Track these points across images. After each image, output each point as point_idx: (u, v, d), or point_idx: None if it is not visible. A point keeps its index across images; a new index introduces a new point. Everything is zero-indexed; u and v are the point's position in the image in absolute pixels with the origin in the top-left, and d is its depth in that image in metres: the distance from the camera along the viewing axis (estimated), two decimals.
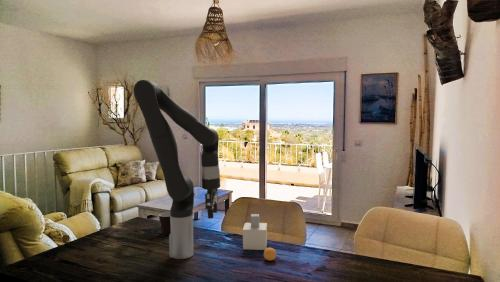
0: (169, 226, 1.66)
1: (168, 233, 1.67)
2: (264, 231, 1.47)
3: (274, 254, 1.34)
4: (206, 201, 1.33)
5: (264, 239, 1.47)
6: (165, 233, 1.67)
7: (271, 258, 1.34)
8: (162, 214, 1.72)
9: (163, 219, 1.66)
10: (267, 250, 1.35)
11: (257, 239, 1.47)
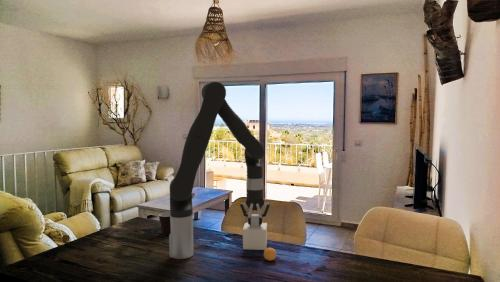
0: (169, 226, 1.66)
1: (168, 233, 1.67)
2: (264, 231, 1.47)
3: (274, 254, 1.34)
4: (267, 210, 1.50)
5: (264, 239, 1.47)
6: (165, 233, 1.67)
7: (271, 258, 1.34)
8: (162, 214, 1.72)
9: (163, 219, 1.66)
10: (267, 250, 1.35)
11: (257, 239, 1.47)
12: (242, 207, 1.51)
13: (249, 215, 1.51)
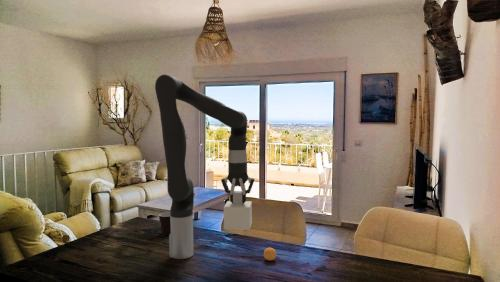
0: (169, 226, 1.66)
1: (168, 233, 1.67)
2: (247, 209, 1.30)
3: (274, 254, 1.34)
4: None
5: (247, 218, 1.31)
6: (165, 233, 1.67)
7: (271, 258, 1.34)
8: (162, 214, 1.72)
9: (163, 219, 1.66)
10: (267, 250, 1.35)
11: (240, 218, 1.31)
12: (223, 183, 1.35)
13: (231, 191, 1.35)
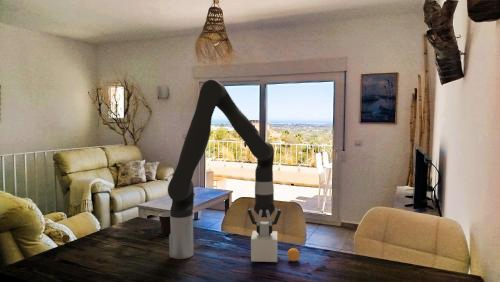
0: (169, 226, 1.66)
1: (168, 233, 1.67)
2: (275, 241, 1.30)
3: (288, 254, 1.34)
4: None
5: (275, 250, 1.30)
6: (165, 233, 1.67)
7: (293, 253, 1.33)
8: (162, 214, 1.72)
9: (163, 219, 1.66)
10: (292, 260, 1.34)
11: (267, 250, 1.31)
12: (250, 214, 1.34)
13: (258, 223, 1.34)
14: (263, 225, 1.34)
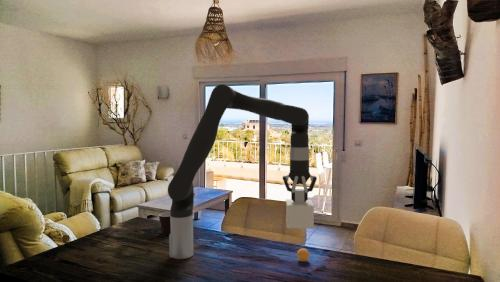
0: (169, 226, 1.66)
1: (168, 233, 1.67)
2: (311, 207, 1.28)
3: (304, 251, 1.33)
4: None
5: (311, 216, 1.28)
6: (165, 233, 1.67)
7: (306, 256, 1.32)
8: (162, 214, 1.72)
9: (163, 219, 1.66)
10: (297, 255, 1.34)
11: (303, 216, 1.29)
12: (285, 180, 1.32)
13: (293, 189, 1.32)
14: (298, 192, 1.32)
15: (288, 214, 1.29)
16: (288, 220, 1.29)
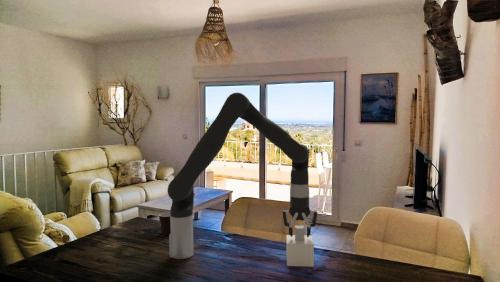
0: (169, 226, 1.66)
1: (168, 233, 1.67)
2: (311, 245, 1.29)
3: None
4: None
5: (311, 254, 1.29)
6: (165, 233, 1.67)
7: None
8: (162, 214, 1.72)
9: (163, 219, 1.66)
10: None
11: (303, 254, 1.29)
12: (284, 215, 1.33)
13: (290, 225, 1.33)
14: (299, 229, 1.32)
15: (288, 252, 1.30)
16: (288, 258, 1.30)
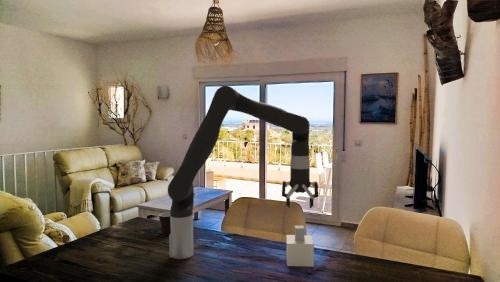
0: (169, 226, 1.66)
1: (168, 233, 1.67)
2: (311, 245, 1.29)
3: None
4: None
5: (311, 254, 1.29)
6: (165, 233, 1.67)
7: None
8: (162, 214, 1.72)
9: (163, 219, 1.66)
10: None
11: (303, 254, 1.29)
12: (284, 186, 1.33)
13: (288, 195, 1.33)
14: (299, 229, 1.32)
15: (288, 252, 1.30)
16: (288, 258, 1.30)
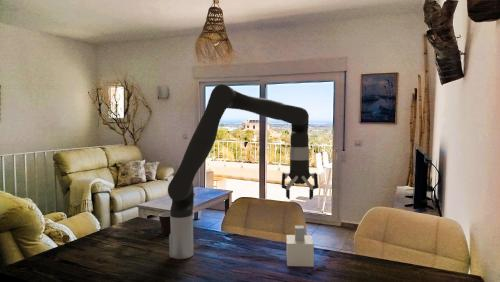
0: (169, 226, 1.66)
1: (168, 233, 1.67)
2: (311, 245, 1.29)
3: None
4: None
5: (311, 254, 1.29)
6: (165, 233, 1.67)
7: None
8: (162, 214, 1.72)
9: (163, 219, 1.66)
10: None
11: (303, 254, 1.29)
12: (283, 177, 1.32)
13: (287, 187, 1.32)
14: (299, 229, 1.32)
15: (288, 252, 1.30)
16: (288, 258, 1.30)
